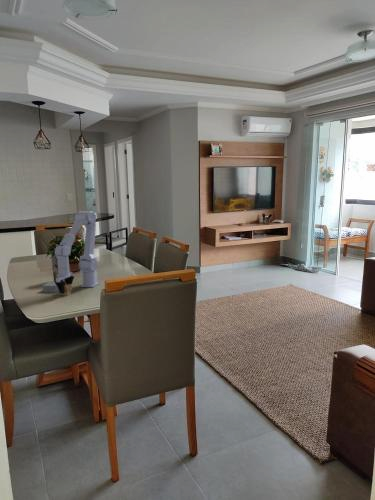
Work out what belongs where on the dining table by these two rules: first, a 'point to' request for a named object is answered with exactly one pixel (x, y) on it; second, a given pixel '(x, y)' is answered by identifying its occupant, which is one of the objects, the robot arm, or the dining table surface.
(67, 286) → the oak cube
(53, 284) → the slate block
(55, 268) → the coffee box
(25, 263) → the dining table surface
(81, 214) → the robot arm
